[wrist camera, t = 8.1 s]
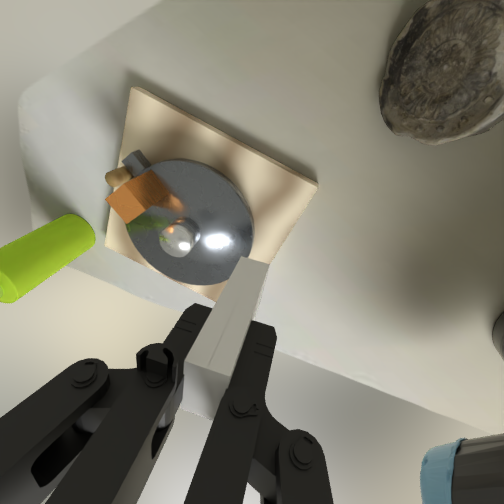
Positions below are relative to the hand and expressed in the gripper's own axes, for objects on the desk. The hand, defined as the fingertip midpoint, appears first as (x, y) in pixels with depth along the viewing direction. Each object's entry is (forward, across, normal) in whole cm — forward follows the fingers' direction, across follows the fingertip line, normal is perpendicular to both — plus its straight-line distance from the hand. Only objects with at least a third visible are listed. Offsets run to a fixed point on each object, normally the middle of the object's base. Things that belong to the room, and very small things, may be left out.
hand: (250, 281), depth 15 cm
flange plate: (+17, +11, +7) cm, 22 cm away
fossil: (+21, -10, -12) cm, 26 cm away
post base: (+20, +11, +8) cm, 24 cm away
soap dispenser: (+20, +29, +15) cm, 38 cm away
